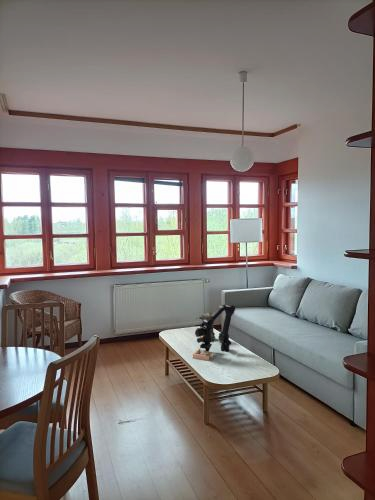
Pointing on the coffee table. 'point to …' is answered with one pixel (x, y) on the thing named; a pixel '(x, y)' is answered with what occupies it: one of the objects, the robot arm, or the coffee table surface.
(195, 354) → the block
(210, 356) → the t block
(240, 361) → the coffee table surface
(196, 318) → the cordless drill
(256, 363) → the coffee table surface
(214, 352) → the slate mat
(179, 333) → the coffee table surface
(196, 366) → the coffee table surface
